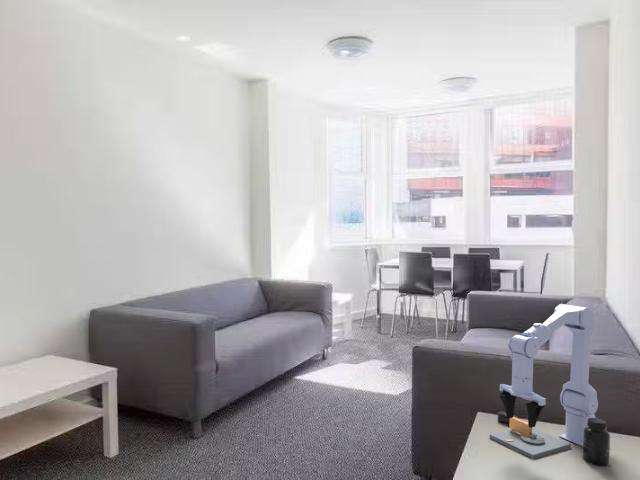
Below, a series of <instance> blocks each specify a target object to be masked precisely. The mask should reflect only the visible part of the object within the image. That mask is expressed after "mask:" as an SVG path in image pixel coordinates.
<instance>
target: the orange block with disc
mask: <svg viewBox="0 0 640 480" xmlns="http://www.w3.org/2000/svg"><path fill="white" fill-rule="evenodd" d="M508 426H509V429H511V430H513V431H515V432H517V433H520V434H521V436H520V437H521V439H522V440H523V441H526V442H528V443H532V444H543V443H544V442H545V439H544V438H543V437H541V436H539V435H536V434H534V433H532V428H533V427H532V428H530V427H529V426H528V421H525V420H522V419H520V418H518V417H517V418H515V417H513V418H510V423H509V425H508ZM509 429H508V430H509Z"/></svg>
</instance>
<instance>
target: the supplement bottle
mask: <svg viewBox="0 0 640 480" xmlns="http://www.w3.org/2000/svg"><path fill="white" fill-rule="evenodd" d="M607 424H608V423H607V421H605V420H604V419H601V418H597V417H596V418H588V423H587V425H588V427H586V428H585V429H584V431H583V446H582V458H583V459H582V460H584V462H586V463H589V464H591V465H594V466H598V467H606V466H608V465H609V464H610V451H611V449H610V447H611V434H610V432H609V431H608V430H607Z"/></svg>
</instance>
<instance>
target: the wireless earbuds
mask: <svg viewBox="0 0 640 480" xmlns="http://www.w3.org/2000/svg"><path fill="white" fill-rule="evenodd" d="M513 417H515V418H518V416H517V415H515V414H514V416H513ZM497 422H499V423H501V424H504V425H508V426H509V423H510V418H507V415H506V411H501V410H500V411H498V412H497Z"/></svg>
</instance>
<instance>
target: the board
mask: <svg viewBox="0 0 640 480" xmlns="http://www.w3.org/2000/svg"><path fill="white" fill-rule="evenodd" d="M532 433H534V434H536V435H539V436H541V437H543V438H544V439H545V442H544V443H543V444H532V443H528V442H526V441H523V440H522V439H521V437H520V436H521V434H520V433H517V432H515V431H513V430H511V429H507V430H503V431H498V432H493V433H490V434H489V439H491V440H493V441H495V442H497V443H498V444H501V445H503V446H505V447H507V448H509V449H511V450H513V451H515V452H517V453H520V454H521V455H524V456H525V457H528V458H530V459H532V460H534V459H538V458H541V457H545V456H548V455H551V454H555V453H558V452H561V451H564V450H567V449H568V450H569V449H571V448H572V444H571V442H568V441H565V440H562V439H561V438H558V437H555V436H553V435H552V434H551V435H550V434H548V433H546V432H543V431H542V430H539V429H536V428H535V427H532Z"/></svg>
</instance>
